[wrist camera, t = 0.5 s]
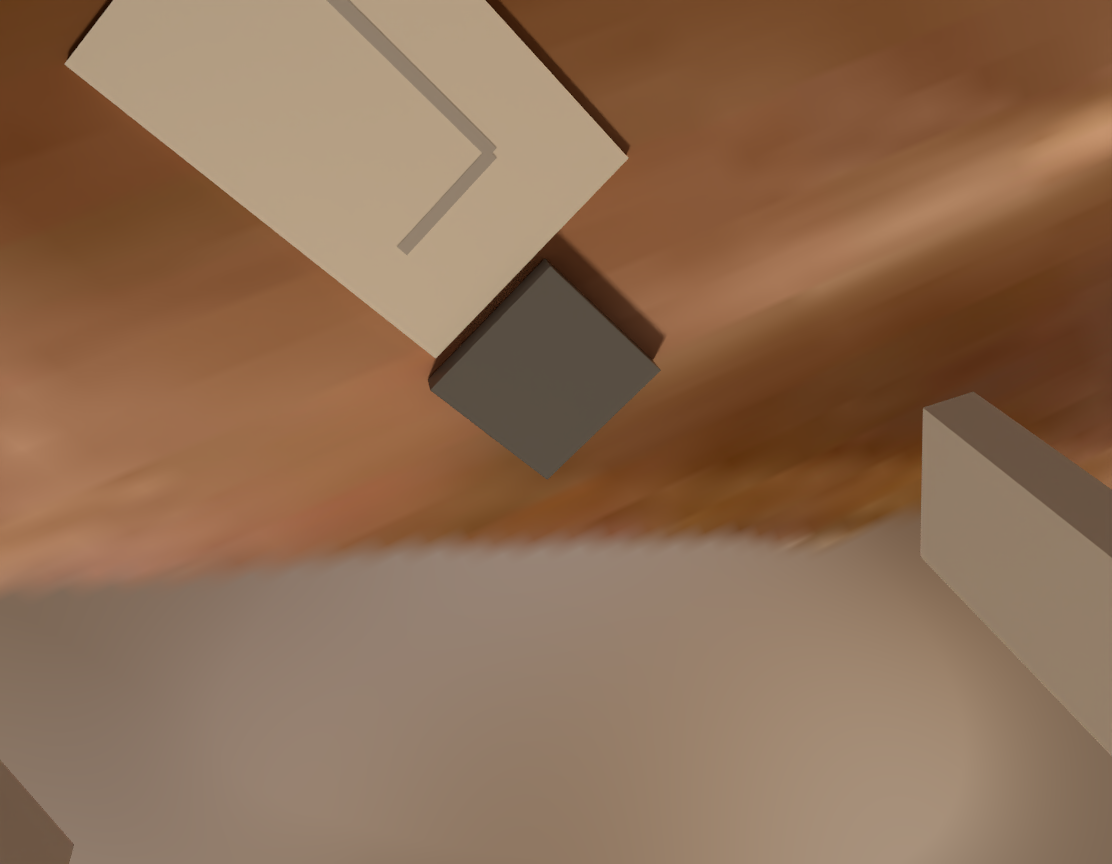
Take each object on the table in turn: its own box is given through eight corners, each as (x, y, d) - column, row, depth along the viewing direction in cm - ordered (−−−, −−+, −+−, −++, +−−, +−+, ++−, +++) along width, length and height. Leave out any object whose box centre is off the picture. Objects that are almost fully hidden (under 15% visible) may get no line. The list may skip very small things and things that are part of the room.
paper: (66, 63, 28) (64, 64, 28) (283, -221, 26) (283, -223, 26) (435, 355, 36) (435, 358, 36) (626, 156, 34) (628, 158, 34)
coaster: (427, 379, 37) (430, 390, 36) (544, 258, 35) (550, 266, 34) (542, 467, 40) (547, 479, 39) (653, 360, 39) (660, 370, 38)
